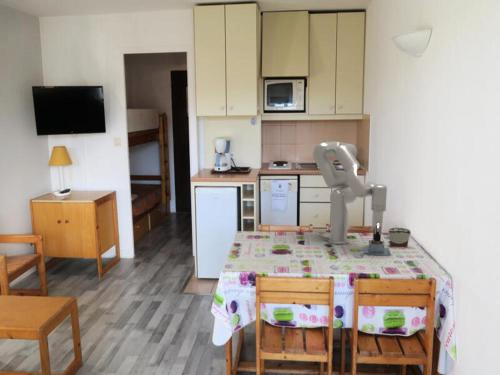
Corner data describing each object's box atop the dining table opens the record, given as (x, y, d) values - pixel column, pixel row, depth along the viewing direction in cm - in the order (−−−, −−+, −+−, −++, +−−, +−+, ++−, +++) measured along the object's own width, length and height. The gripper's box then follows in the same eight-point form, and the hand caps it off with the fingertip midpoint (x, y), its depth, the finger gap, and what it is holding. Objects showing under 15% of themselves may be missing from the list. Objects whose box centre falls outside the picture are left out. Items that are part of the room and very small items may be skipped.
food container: (407, 244, 251) (408, 227, 249) (410, 247, 245) (411, 230, 243) (385, 243, 252) (386, 227, 250) (387, 247, 246) (388, 230, 244)
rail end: (372, 251, 237) (373, 233, 235) (372, 248, 240) (373, 231, 239) (380, 251, 236) (380, 233, 234) (379, 249, 240) (380, 231, 238)
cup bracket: (362, 254, 234) (363, 244, 233) (362, 247, 246) (363, 238, 245) (390, 256, 231) (390, 246, 230) (389, 249, 242) (389, 240, 241)
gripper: (370, 203, 243) (369, 233, 246) (371, 210, 226) (369, 242, 229) (385, 204, 241) (383, 234, 244) (386, 211, 225) (384, 243, 228)
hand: (376, 238), depth 237 cm, fingers open, 9 cm apart
